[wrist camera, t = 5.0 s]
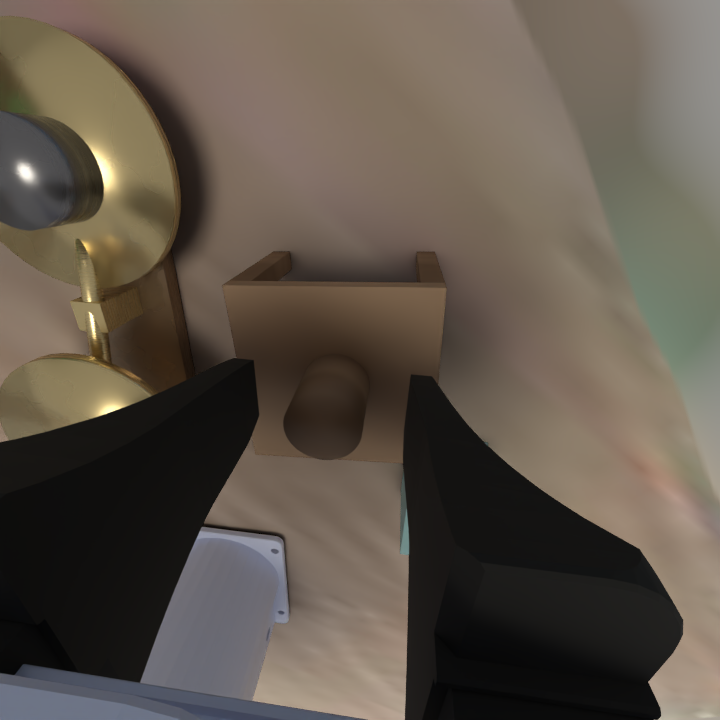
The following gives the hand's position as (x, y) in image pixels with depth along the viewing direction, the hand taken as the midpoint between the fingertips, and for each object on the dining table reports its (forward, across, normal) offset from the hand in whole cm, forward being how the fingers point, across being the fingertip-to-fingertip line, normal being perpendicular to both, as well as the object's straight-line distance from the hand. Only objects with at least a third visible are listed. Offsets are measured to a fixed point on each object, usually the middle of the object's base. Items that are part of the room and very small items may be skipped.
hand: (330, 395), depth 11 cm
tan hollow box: (+6, 0, 0) cm, 6 cm away
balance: (+6, +10, 0) cm, 12 cm away
